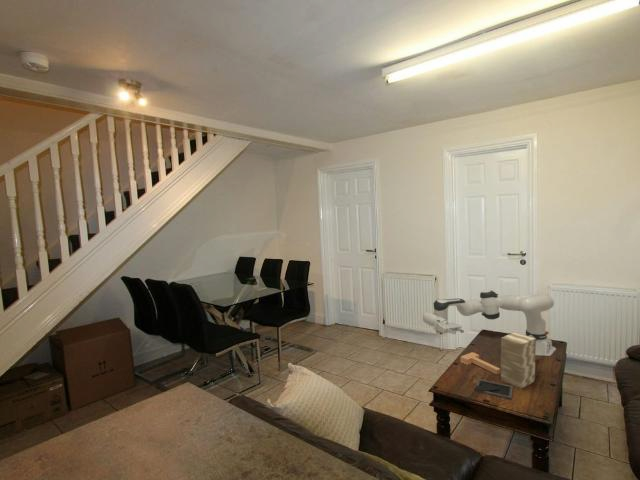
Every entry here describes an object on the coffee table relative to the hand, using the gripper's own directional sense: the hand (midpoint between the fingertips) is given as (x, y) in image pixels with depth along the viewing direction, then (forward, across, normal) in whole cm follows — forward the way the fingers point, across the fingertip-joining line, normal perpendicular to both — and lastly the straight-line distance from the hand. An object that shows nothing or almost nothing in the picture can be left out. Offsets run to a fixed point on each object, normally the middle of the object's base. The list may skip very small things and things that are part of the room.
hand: (459, 332), depth 235 cm
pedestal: (+42, 0, -12) cm, 43 cm away
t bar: (+19, 0, -11) cm, 22 cm away
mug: (+43, -14, -10) cm, 46 cm away
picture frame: (+39, +18, -16) cm, 46 cm away
